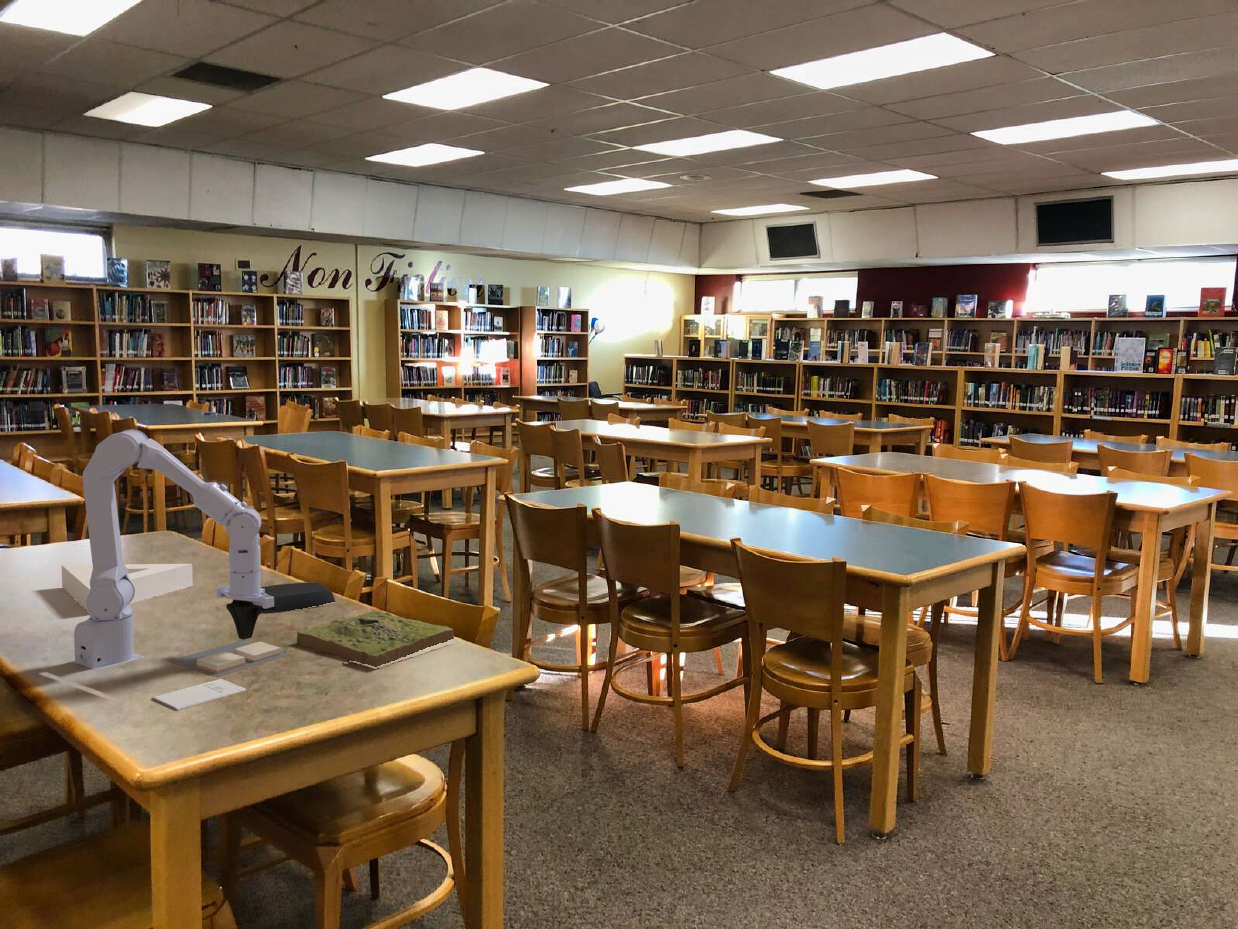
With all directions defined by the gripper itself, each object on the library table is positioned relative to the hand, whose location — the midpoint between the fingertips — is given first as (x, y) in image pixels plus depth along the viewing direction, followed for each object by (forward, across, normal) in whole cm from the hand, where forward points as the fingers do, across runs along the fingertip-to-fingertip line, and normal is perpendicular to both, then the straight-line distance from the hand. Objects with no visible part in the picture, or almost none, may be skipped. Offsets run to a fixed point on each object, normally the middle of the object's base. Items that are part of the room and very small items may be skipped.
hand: (245, 638), depth 181 cm
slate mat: (+3, -1, +4) cm, 5 cm away
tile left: (+2, 0, +8) cm, 8 cm away
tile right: (+2, 0, 0) cm, 2 cm away
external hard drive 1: (+4, -13, +19) cm, 24 cm away
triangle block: (+4, +60, -15) cm, 62 cm away
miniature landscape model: (+4, -15, -20) cm, 25 cm away
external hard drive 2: (+4, +24, -30) cm, 39 cm away
